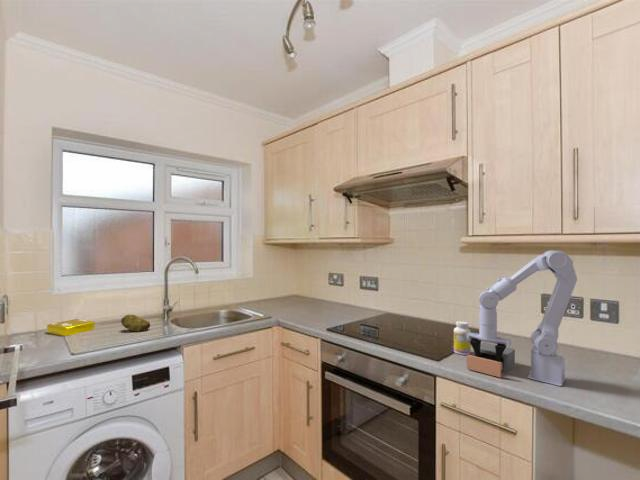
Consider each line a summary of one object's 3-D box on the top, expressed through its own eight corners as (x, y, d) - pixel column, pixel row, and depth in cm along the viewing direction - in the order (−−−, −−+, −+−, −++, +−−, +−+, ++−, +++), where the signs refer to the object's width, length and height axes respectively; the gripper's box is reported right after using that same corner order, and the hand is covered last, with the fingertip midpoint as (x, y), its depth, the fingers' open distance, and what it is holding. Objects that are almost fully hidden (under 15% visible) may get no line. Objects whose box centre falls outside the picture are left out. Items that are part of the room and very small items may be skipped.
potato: (140, 333, 162) (140, 317, 162) (117, 331, 165) (118, 315, 165) (152, 329, 170) (152, 313, 171) (130, 327, 173) (130, 312, 173)
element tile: (96, 329, 170) (96, 320, 170) (64, 337, 156) (64, 327, 156) (77, 326, 175) (77, 317, 175) (44, 333, 161) (45, 323, 161)
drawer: (508, 369, 119) (508, 356, 119) (500, 377, 112) (500, 363, 112) (476, 361, 127) (476, 349, 127) (467, 368, 120) (467, 355, 120)
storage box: (514, 364, 125) (514, 349, 125) (507, 371, 118) (507, 355, 118) (483, 357, 133) (484, 342, 133) (475, 363, 126) (475, 348, 126)
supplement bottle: (456, 349, 143) (456, 319, 143) (472, 352, 139) (472, 322, 139) (451, 353, 138) (451, 322, 138) (468, 356, 134) (468, 325, 134)
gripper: (513, 326, 118) (513, 364, 117) (471, 319, 128) (471, 354, 128) (507, 329, 113) (507, 369, 112) (464, 322, 123) (464, 358, 122)
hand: (487, 361), depth 120 cm, fingers open, 6 cm apart
